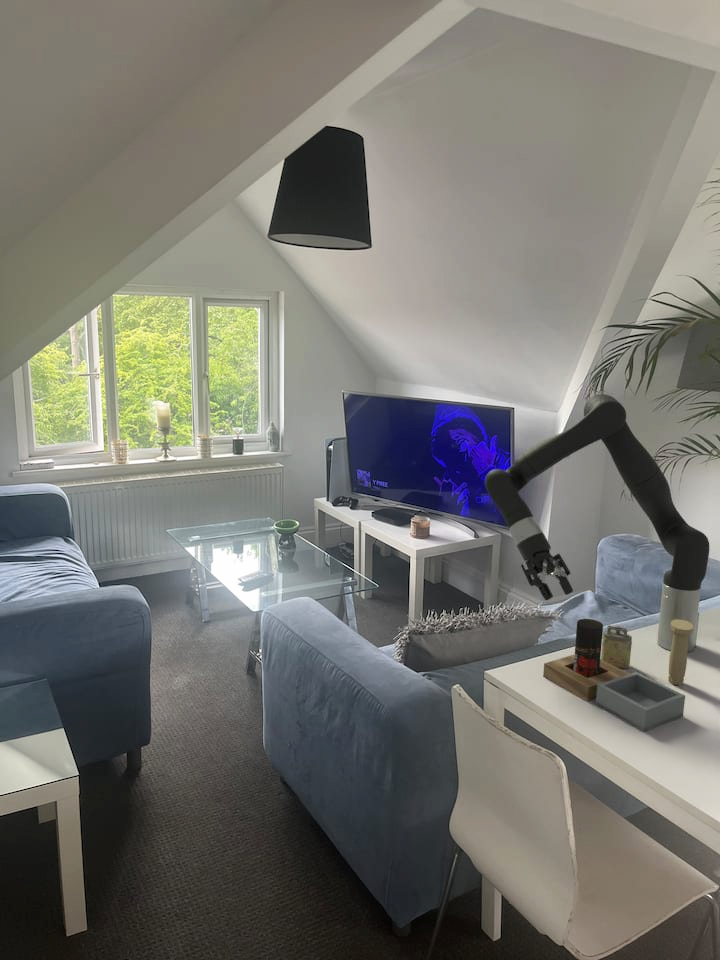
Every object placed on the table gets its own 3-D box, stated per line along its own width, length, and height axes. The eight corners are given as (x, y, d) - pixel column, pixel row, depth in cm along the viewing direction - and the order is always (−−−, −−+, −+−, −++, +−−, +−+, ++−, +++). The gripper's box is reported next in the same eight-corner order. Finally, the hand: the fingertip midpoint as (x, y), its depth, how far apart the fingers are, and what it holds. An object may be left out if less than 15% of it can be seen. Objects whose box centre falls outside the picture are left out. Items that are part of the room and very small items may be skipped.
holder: (583, 664, 183) (584, 651, 182) (628, 687, 171) (629, 673, 170) (543, 676, 176) (544, 663, 175) (587, 701, 164) (588, 687, 163)
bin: (634, 691, 169) (636, 671, 168) (682, 716, 158) (685, 695, 157) (595, 704, 163) (597, 684, 162) (643, 732, 152) (646, 710, 151)
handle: (685, 678, 176) (692, 621, 173) (687, 690, 170) (693, 631, 167) (664, 675, 177) (670, 618, 174) (665, 686, 172) (671, 627, 169)
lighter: (630, 664, 183) (633, 627, 181) (629, 670, 180) (632, 633, 178) (600, 659, 186) (604, 622, 184) (599, 665, 183) (602, 628, 181)
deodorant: (567, 678, 175) (571, 620, 172) (586, 674, 177) (591, 617, 174) (583, 689, 170) (588, 630, 167) (603, 685, 172) (608, 626, 169)
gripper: (522, 534, 177) (553, 594, 171) (556, 528, 186) (587, 585, 180) (502, 548, 182) (532, 607, 176) (536, 542, 191) (565, 597, 185)
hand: (559, 596), depth 178 cm, fingers open, 8 cm apart
